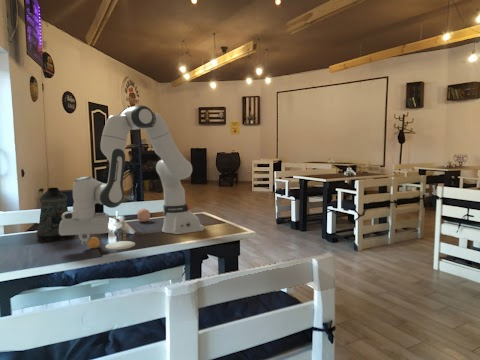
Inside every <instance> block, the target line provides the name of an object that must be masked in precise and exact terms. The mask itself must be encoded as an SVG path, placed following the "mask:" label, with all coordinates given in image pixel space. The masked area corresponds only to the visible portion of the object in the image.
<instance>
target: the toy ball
mask: <svg viewBox="0 0 480 360" xmlns="http://www.w3.org/2000/svg"><path fill="white" fill-rule="evenodd" d="M136 215H137V220H138V222H142V223H146V222H148V221H149V220H150V218H151V212H150V211H149V210H148V209H146V208H141V209H139V210H138V211H137V214H136Z"/></svg>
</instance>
